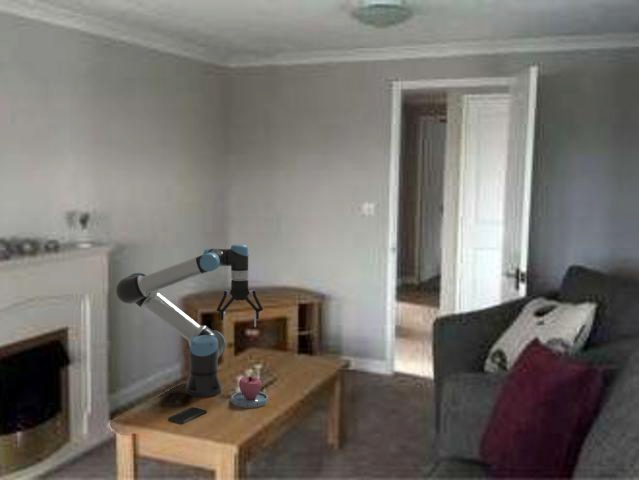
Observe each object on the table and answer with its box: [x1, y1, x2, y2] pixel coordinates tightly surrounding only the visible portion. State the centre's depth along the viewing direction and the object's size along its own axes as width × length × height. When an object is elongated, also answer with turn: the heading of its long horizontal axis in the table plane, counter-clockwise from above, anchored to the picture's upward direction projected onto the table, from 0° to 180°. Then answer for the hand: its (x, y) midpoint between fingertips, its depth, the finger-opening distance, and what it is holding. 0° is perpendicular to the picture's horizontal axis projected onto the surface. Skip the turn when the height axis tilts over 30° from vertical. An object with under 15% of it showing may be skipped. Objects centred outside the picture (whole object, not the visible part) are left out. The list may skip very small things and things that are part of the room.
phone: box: [167, 406, 208, 425], centre depth 262 cm, size 8×1×15 cm
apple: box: [238, 376, 263, 400], centre depth 280 cm, size 10×9×10 cm
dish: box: [230, 391, 270, 409], centre depth 281 cm, size 15×15×2 cm
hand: (239, 326), depth 301 cm, fingers open, 13 cm apart
